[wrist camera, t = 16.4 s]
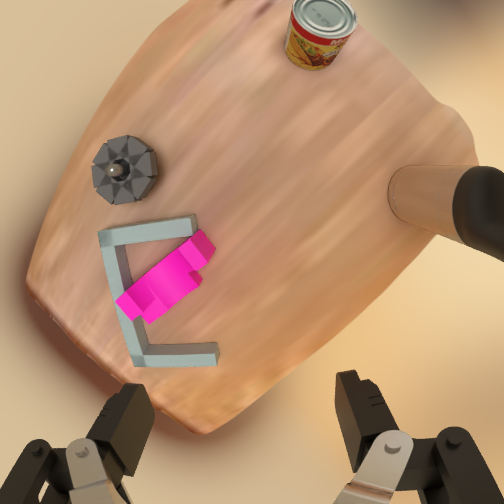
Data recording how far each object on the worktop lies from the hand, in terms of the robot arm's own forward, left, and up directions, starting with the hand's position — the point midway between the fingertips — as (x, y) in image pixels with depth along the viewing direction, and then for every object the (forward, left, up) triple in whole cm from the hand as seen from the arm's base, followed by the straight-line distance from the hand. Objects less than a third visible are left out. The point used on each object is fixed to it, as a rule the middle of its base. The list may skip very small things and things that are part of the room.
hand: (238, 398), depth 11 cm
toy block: (+12, +5, -34) cm, 37 cm away
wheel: (+16, -12, -30) cm, 36 cm away
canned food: (-12, -28, -34) cm, 46 cm away
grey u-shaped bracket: (+16, +8, -34) cm, 38 cm away
